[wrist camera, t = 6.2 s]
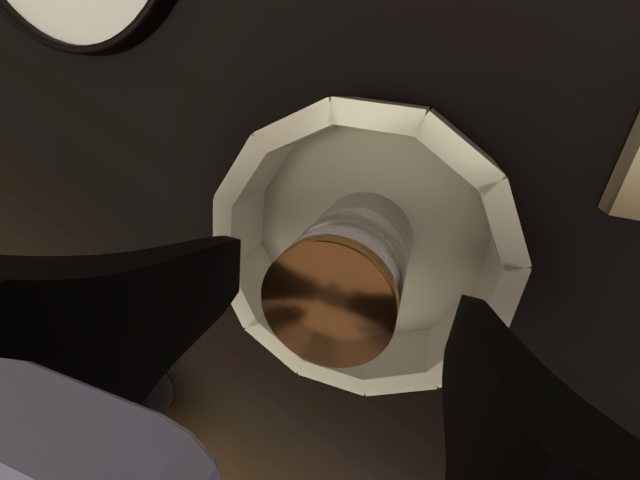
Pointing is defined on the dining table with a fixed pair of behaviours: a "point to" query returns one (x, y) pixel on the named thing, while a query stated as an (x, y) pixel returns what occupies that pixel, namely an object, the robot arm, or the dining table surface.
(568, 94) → the dining table surface
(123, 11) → the magnifying glass
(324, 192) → the cup
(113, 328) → the robot arm
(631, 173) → the checker cradle
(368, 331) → the cylinder
